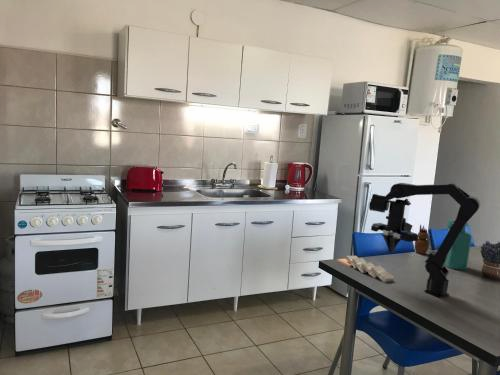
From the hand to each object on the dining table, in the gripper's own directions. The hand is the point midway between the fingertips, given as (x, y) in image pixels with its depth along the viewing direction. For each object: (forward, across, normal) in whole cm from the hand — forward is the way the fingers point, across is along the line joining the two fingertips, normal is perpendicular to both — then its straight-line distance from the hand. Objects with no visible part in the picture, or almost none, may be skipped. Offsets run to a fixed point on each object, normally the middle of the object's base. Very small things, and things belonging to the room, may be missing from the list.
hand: (391, 252), depth 168 cm
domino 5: (+11, -1, 0) cm, 11 cm away
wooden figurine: (+12, +23, -53) cm, 59 cm away
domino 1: (+12, +19, 0) cm, 22 cm away
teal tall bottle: (+12, +2, -49) cm, 51 cm away
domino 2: (+11, +15, -1) cm, 19 cm away
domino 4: (+11, +4, 0) cm, 12 cm away
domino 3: (+11, +10, 0) cm, 15 cm away
